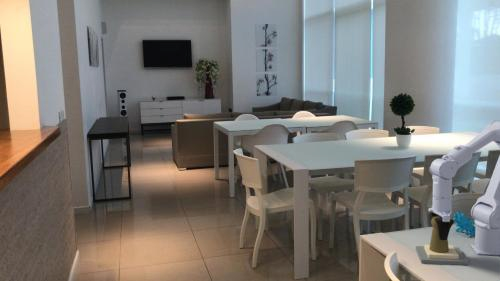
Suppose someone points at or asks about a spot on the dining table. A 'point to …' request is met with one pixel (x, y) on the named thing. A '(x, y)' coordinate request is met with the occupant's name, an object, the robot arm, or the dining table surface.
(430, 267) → the dining table surface
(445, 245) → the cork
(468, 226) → the blue lumpy cluster
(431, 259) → the grey flat slab
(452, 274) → the dining table surface
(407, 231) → the dining table surface
